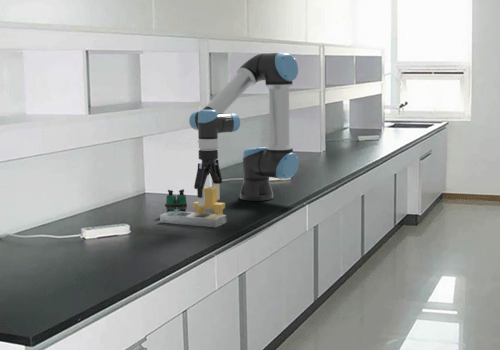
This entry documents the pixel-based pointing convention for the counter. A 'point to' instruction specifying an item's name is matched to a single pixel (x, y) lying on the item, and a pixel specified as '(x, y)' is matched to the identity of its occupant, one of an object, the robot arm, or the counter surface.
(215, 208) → the yellow stepped block
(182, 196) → the binoculars
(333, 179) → the counter surface
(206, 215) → the grey board with holes
